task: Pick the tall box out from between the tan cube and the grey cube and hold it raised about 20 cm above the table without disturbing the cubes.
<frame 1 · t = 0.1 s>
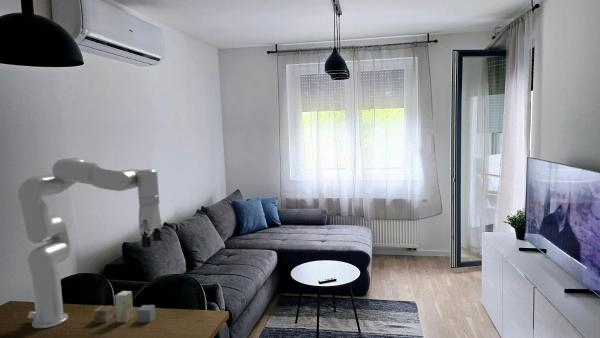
hand: (152, 243, 164), 31 cm above the table, tool pointing down, fingers open, 9 cm apart
grey cube: (147, 319, 167), on the table
box: (125, 320, 168), on the table
tan cube: (103, 320, 168), on the table
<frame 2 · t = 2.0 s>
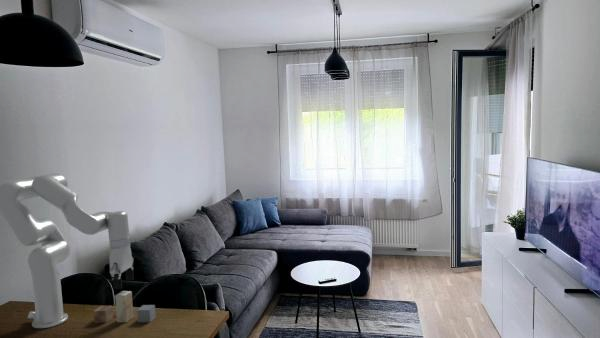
hand: (124, 284, 167), 15 cm above the table, tool pointing down, fingers open, 9 cm apart
nothing on the table moved.
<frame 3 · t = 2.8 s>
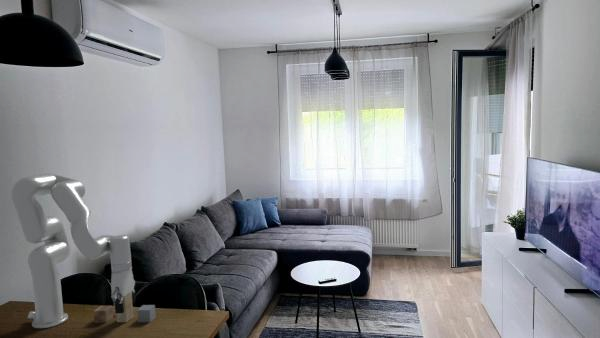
hand: (125, 307, 167), 5 cm above the table, tool pointing down, fingers open, 9 cm apart
nothing on the table moved.
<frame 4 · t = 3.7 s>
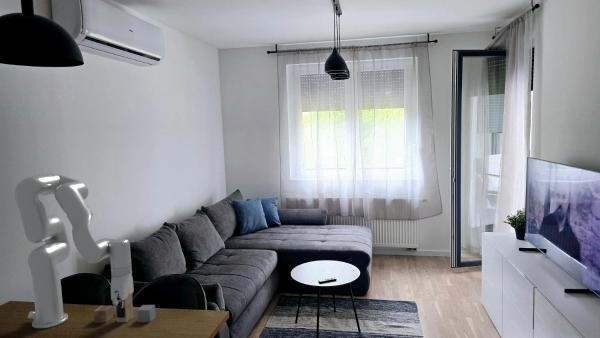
hand: (124, 313, 168), 3 cm above the table, tool pointing down, fingers closed on box, 5 cm apart
box: (125, 320, 168), on the table, touching gripper
everything else where it was.
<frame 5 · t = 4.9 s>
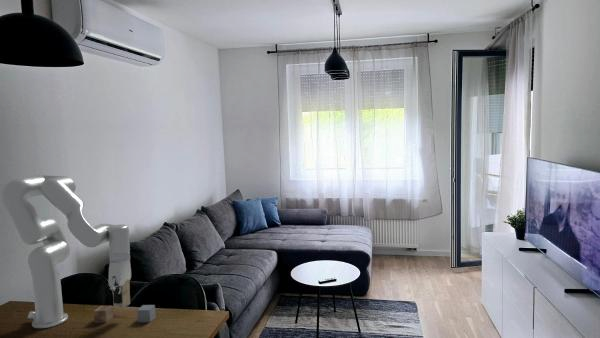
hand: (121, 299, 167), 8 cm above the table, tool pointing down, fingers closed on box, 5 cm apart
box: (122, 306, 167), point 6 cm above the table, touching gripper
everything else where it was.
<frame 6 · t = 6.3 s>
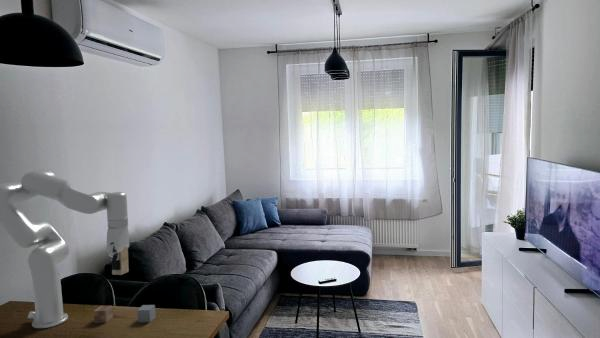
hand: (120, 266, 168), 21 cm above the table, tool pointing down, fingers closed on box, 5 cm apart
box: (120, 273, 168), point 19 cm above the table, touching gripper
everything else where it was.
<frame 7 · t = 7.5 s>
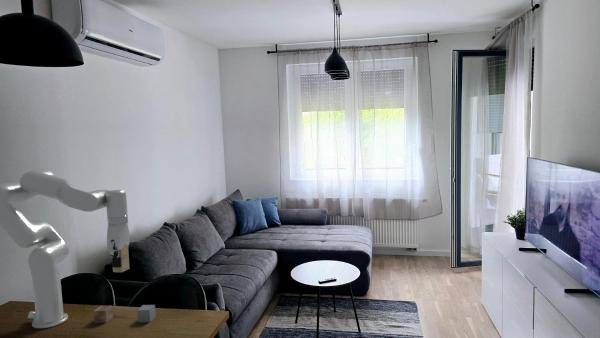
hand: (120, 264, 168), 22 cm above the table, tool pointing down, fingers closed on box, 5 cm apart
box: (121, 270, 168), point 20 cm above the table, touching gripper
everything else where it was.
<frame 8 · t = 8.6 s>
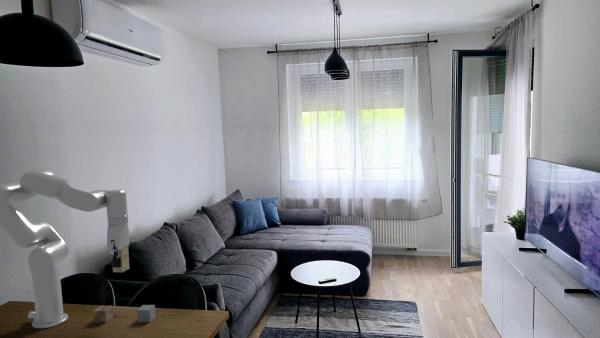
hand: (120, 264, 168), 22 cm above the table, tool pointing down, fingers closed on box, 5 cm apart
box: (121, 270, 168), point 20 cm above the table, touching gripper
everything else where it was.
at the end: box point 19.6 cm above the table; tan cube moved 0.1 cm from its start; grey cube moved 0.1 cm from its start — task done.
